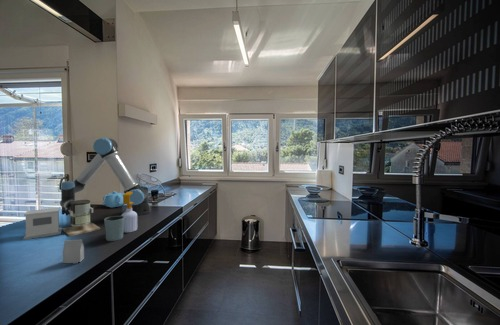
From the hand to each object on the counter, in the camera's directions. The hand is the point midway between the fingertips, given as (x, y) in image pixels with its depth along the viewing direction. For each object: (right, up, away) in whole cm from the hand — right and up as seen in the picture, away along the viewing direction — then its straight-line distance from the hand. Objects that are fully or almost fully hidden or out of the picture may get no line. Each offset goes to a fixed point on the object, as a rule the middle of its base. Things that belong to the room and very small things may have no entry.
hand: (82, 212), depth 143 cm
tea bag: (+23, -15, -38) cm, 47 cm away
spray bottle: (+27, -13, +4) cm, 30 cm away
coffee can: (-4, -8, +3) cm, 9 cm away
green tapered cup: (+25, -13, -9) cm, 30 cm away
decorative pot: (-18, -9, +63) cm, 66 cm away
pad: (-3, -12, +3) cm, 13 cm away
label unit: (-19, -12, -6) cm, 23 cm away
